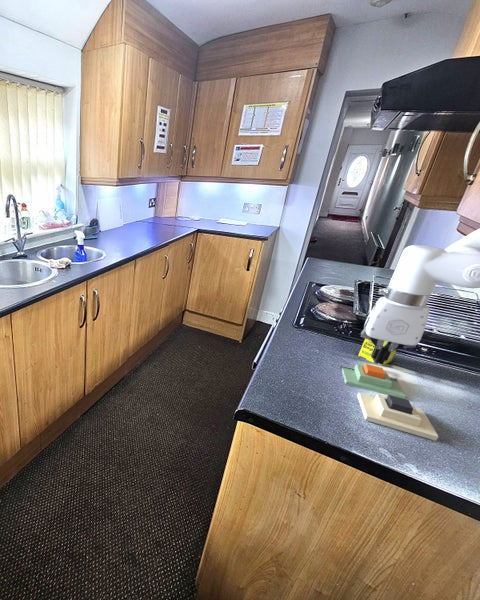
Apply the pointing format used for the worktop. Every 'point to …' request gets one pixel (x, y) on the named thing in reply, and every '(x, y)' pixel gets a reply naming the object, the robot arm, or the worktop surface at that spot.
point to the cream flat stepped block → (396, 416)
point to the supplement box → (368, 349)
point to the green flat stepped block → (371, 381)
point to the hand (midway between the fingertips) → (377, 361)
